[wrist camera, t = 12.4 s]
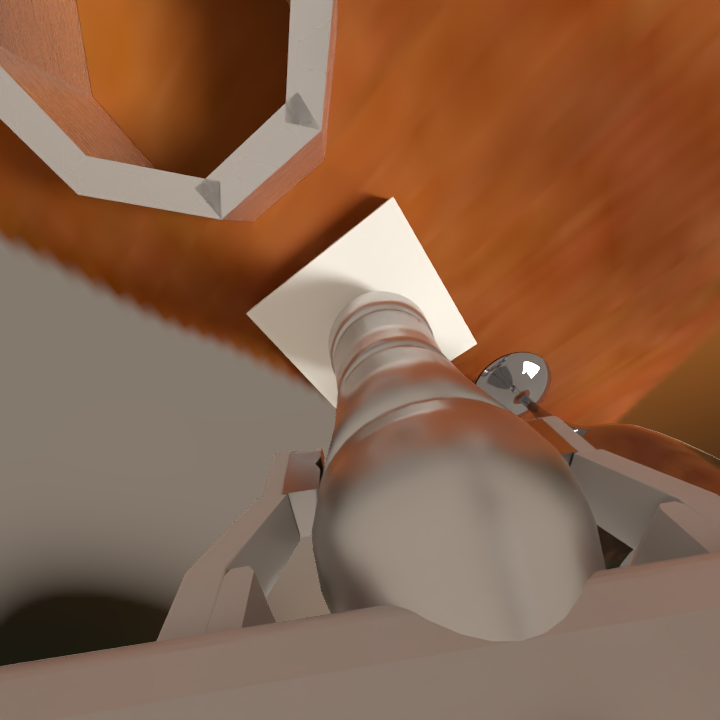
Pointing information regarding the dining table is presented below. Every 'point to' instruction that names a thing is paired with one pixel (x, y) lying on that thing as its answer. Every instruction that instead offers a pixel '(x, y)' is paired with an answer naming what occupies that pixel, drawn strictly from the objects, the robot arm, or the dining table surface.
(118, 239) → the dining table surface
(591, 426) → the wine glass
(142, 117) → the dining table surface
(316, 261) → the ceramic pad
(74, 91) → the steel collar
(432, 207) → the dining table surface
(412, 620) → the robot arm
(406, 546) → the plastic bottle
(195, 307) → the dining table surface
